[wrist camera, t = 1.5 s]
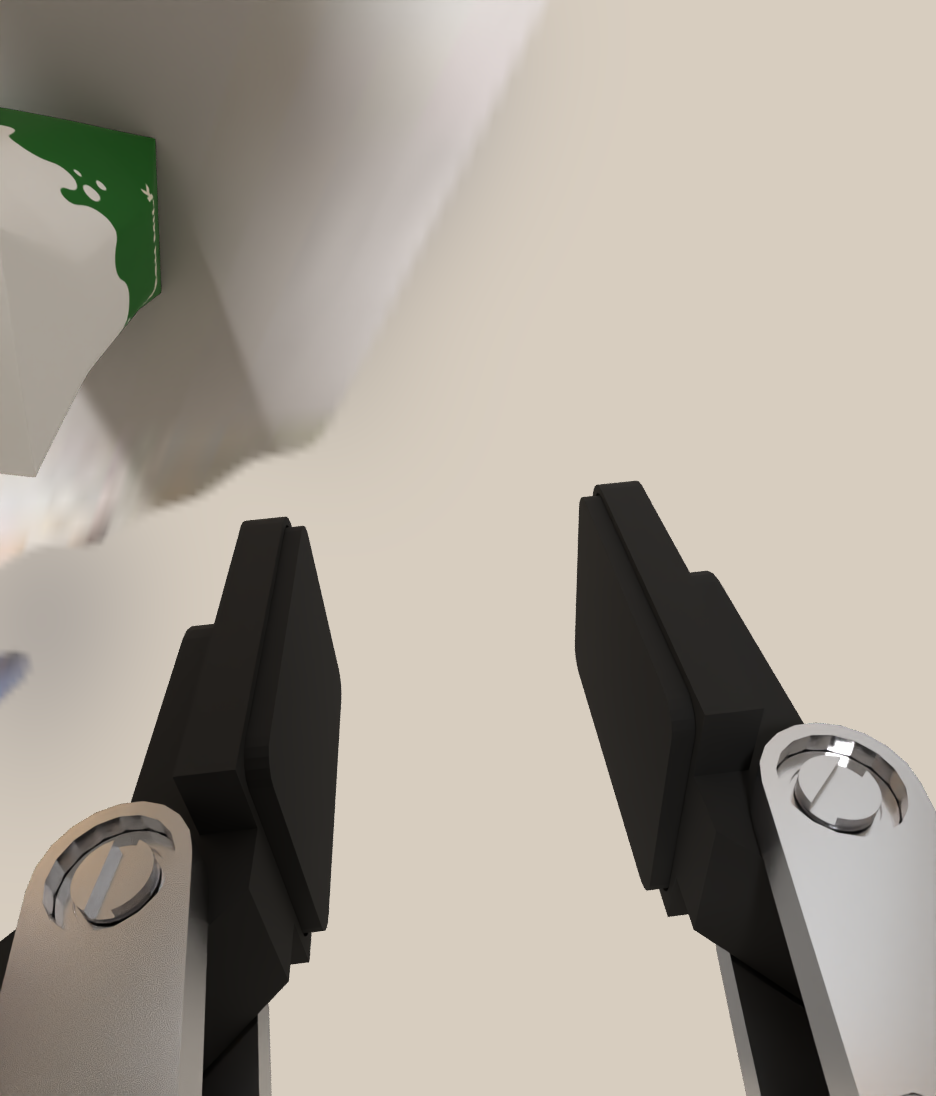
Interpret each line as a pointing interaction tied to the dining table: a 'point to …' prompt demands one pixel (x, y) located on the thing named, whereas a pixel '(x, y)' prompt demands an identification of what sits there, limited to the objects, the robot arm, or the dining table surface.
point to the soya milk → (66, 266)
